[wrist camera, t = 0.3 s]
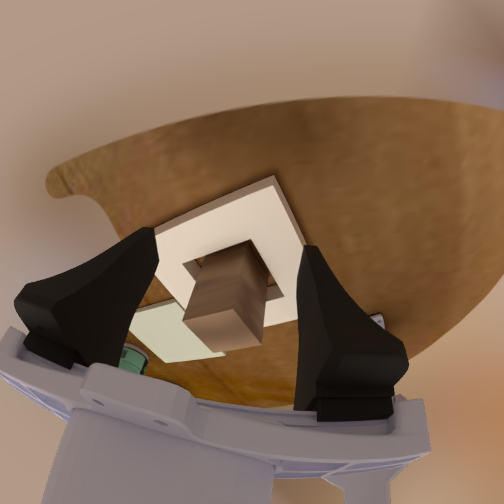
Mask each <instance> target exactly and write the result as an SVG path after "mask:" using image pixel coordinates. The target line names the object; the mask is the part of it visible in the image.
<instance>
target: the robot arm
mask: <svg viewBox="0 0 504 504" xmlns="http://www.w3.org/2000/svg"><path fill="white" fill-rule="evenodd" d="M159 261H160V260H159V255H158V249H157V243H156V237H155V230H154V228H148V227H142V228H141V229H139V230H137V231H135V232H134V233H132V234H131V235H129V236H128V237H126V238H125V239H123V240H121V241H120V242H118V243H117V244H115V245H114V246H112V247H111V248H109V249H108V250H106V251H104V252H103V253H101V254H99V255H98V256H96V257H95V258H93V259H91V260H89V261H87V262H85V263H83V264H81V265H79V266H77V267H75V268H73V269H70V270H68V271H66V272H63V273H61V274H58V275H56V276H53V277H50V278H46V279H43V280H40V281H36V282H32V283H28V284H26V285H25V286H24V288H23V289H22V290H21V292H20V293H19V294H18V296H17V297H16V298H15V300H14V307H15V309H16V312H17V313H18V315H19V317H20V318H21V320H22V321H23V323H24V324H25V325H26V327H27V328H28V330H29V331H30V332H29V334H28V335H27V336H26V335H25V334H24V333H23V332H21V331H19V330H17V329H15V328H13V327H12V326H10V327H9V328H8V330H7V331H6V333H5V334H4V336H3V338H2V339H1V341H0V375H1V376H2V377H3V378H4V379H5V380H6V381H7V382H8V383H9V384H10V385H11V386H12V387H13V388H14V389H16V390H17V391H19V392H20V393H22V394H23V395H25V396H26V397H28V398H29V399H31V400H32V401H34V402H35V403H37V404H39V405H40V406H42V407H43V408H45V409H47V410H48V411H50V412H51V413H53V414H55V415H57V416H58V417H60V418H62V419H63V420H65V421H67V422H68V423H67V426H66V428H65V431H64V433H63V436H62V439H61V441H60V444H59V447H58V450H57V453H56V456H55V459H54V462H53V465H52V468H51V471H50V474H49V477H48V481H47V484H46V488H45V491H44V495H43V499H42V502H41V504H271V496H272V487H273V478H281V479H288V478H289V479H291V478H292V479H293V478H319V477H322V478H323V479H325V480H326V481H328V482H330V483H331V484H333V485H335V486H337V487H338V488H340V489H342V490H343V491H344V504H391V503H390V502H391V500H390V499H391V498H390V482H391V481H392V480H393V479H394V478H395V477H396V476H398V475H399V474H400V473H401V472H402V471H403V470H404V469H405V468H406V467H407V466H408V465H409V464H410V463H411V462H412V461H414V460H416V459H418V458H421V457H422V456H425V455H427V454H429V453H430V452H431V447H430V440H429V432H428V426H427V419H426V414H425V408H424V402H423V399H413V400H407V398H406V397H404V396H402V395H401V394H398V395H396V396H395V392H394V385H395V384H396V383H397V382H398V381H399V380H400V379H401V378H402V377H403V375H404V374H405V373H406V371H407V370H408V367H409V362H408V358H407V353H406V350H405V347H404V344H403V342H402V341H401V340H399V339H398V338H396V337H395V336H393V335H392V334H390V333H389V332H388V331H386V330H385V326H384V321H383V316H382V315H381V314H377V315H374V316H371V317H369V316H368V315H367V314H366V313H365V312H364V311H363V310H362V309H361V308H360V307H359V306H358V305H357V304H356V303H355V302H354V300H353V299H352V298H351V297H350V296H349V295H348V293H347V292H346V291H345V290H344V288H343V287H342V286H341V284H340V283H339V281H338V280H337V278H336V277H335V275H334V274H333V272H332V271H331V269H330V268H329V266H328V264H327V262H326V261H325V259H324V257H323V256H322V254H321V252H320V250H319V248H318V247H317V246H312V245H304V247H303V251H302V256H301V261H300V266H299V270H298V275H297V286H296V303H297V317H298V331H299V351H298V367H297V380H296V390H295V400H294V408H293V410H279V409H267V408H257V407H249V406H241V405H234V404H227V403H220V402H214V401H209V400H203V399H198V398H194V397H193V396H192V394H191V393H190V392H189V391H187V390H185V389H184V388H182V387H180V386H178V385H175V384H172V383H169V382H166V381H163V380H159V379H155V378H151V377H148V376H144V375H140V374H136V373H133V372H129V371H126V370H123V369H119V368H118V367H119V363H120V358H121V354H122V350H123V347H124V343H125V340H126V337H127V333H128V331H129V328H130V325H131V322H132V319H133V317H134V315H135V312H136V310H137V308H138V306H139V304H140V302H141V300H142V299H143V297H144V295H145V293H146V291H147V289H148V287H149V285H150V283H151V281H152V279H153V277H154V275H155V272H156V270H157V267H158V264H159Z"/></svg>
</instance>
